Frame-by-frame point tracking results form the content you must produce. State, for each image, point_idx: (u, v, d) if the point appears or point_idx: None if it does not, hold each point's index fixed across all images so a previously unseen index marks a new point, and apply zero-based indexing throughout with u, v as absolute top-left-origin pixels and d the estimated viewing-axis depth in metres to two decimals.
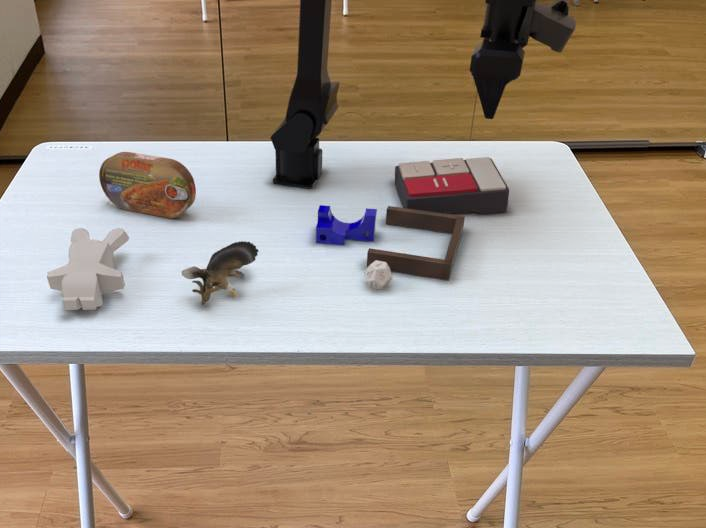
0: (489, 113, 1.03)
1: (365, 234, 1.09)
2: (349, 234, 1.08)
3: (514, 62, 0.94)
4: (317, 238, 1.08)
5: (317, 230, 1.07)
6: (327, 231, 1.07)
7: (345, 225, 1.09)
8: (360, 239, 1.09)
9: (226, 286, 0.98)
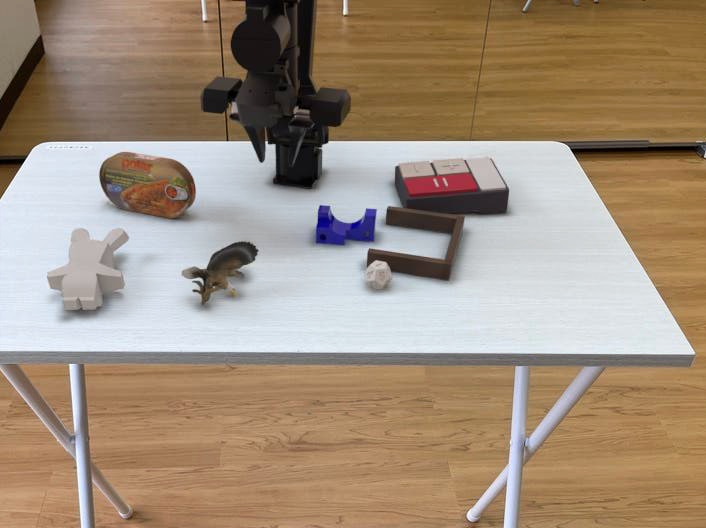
0: None
1: (365, 234, 1.09)
2: (349, 234, 1.08)
3: None
4: (317, 238, 1.08)
5: (317, 230, 1.07)
6: (327, 231, 1.07)
7: (345, 225, 1.09)
8: (360, 239, 1.09)
9: (226, 286, 0.98)
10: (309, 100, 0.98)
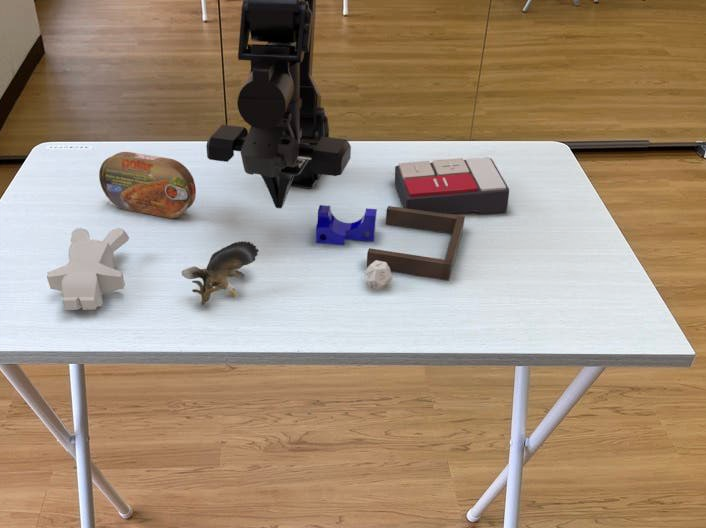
0: None
1: (365, 234, 1.09)
2: (349, 234, 1.08)
3: None
4: (317, 238, 1.08)
5: (317, 230, 1.07)
6: (327, 231, 1.07)
7: (345, 225, 1.09)
8: (360, 239, 1.09)
9: (226, 286, 0.98)
10: (311, 149, 1.02)
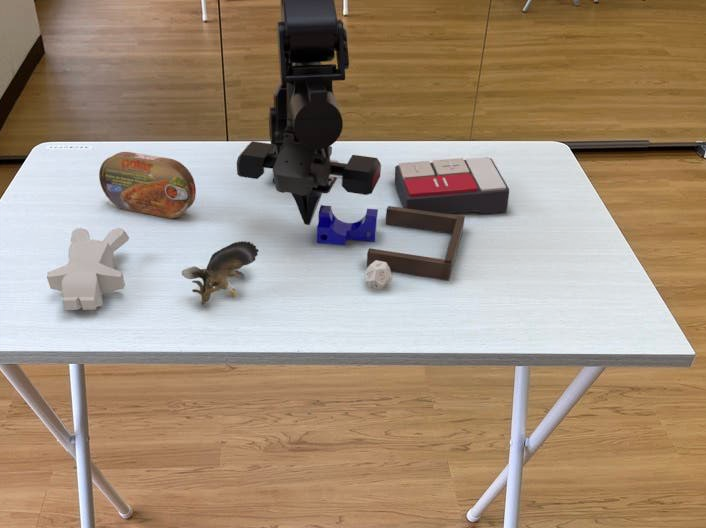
0: None
1: (366, 234, 1.09)
2: (350, 234, 1.08)
3: None
4: (318, 238, 1.08)
5: (318, 230, 1.07)
6: (328, 231, 1.07)
7: (346, 225, 1.09)
8: (361, 239, 1.09)
9: (226, 286, 0.98)
10: (341, 168, 1.02)
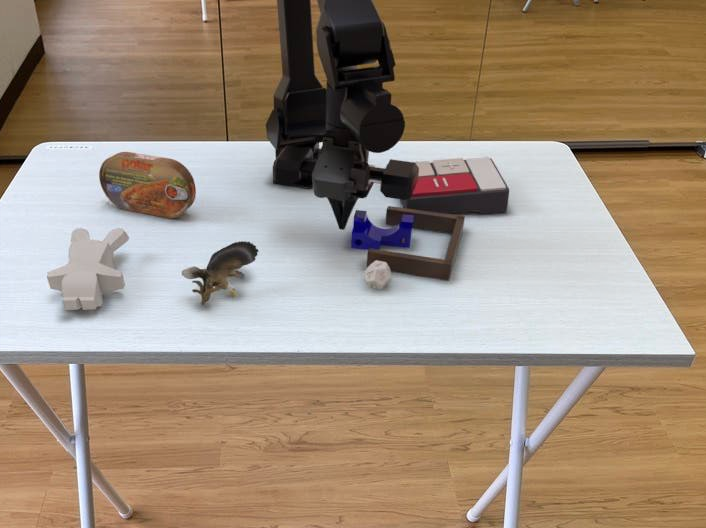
0: None
1: (401, 240, 1.08)
2: (385, 239, 1.07)
3: (273, 165, 1.03)
4: (352, 243, 1.07)
5: (352, 235, 1.06)
6: (363, 236, 1.06)
7: (381, 231, 1.08)
8: (396, 245, 1.07)
9: (226, 286, 0.98)
10: (379, 172, 1.01)
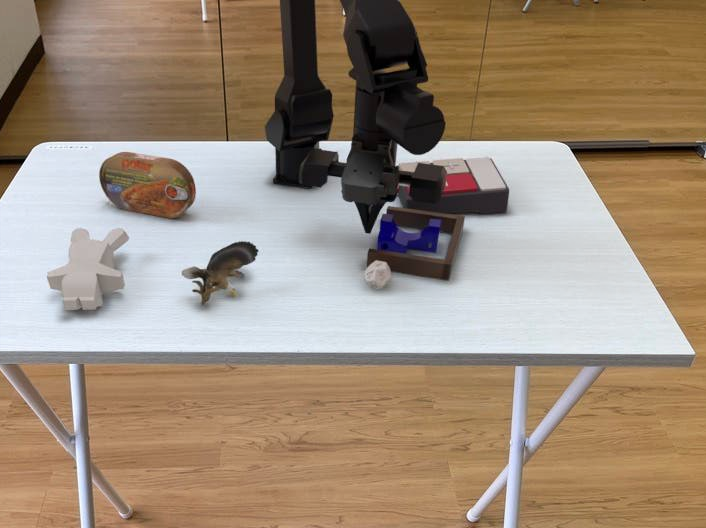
0: None
1: (428, 245, 1.07)
2: (411, 244, 1.06)
3: (300, 169, 1.02)
4: (378, 247, 1.06)
5: (379, 239, 1.05)
6: (389, 240, 1.05)
7: (407, 235, 1.07)
8: (422, 250, 1.06)
9: (226, 286, 0.98)
10: (407, 176, 1.00)
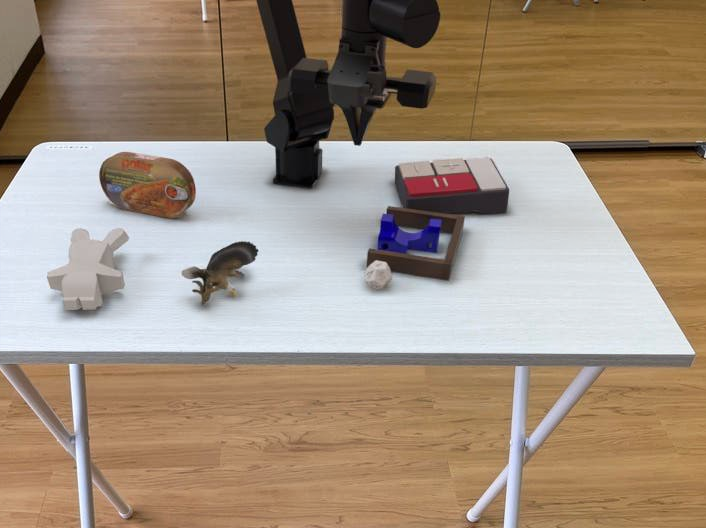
0: None
1: (428, 245, 1.07)
2: (412, 244, 1.06)
3: None
4: (379, 247, 1.06)
5: (379, 239, 1.05)
6: (389, 240, 1.05)
7: (407, 235, 1.07)
8: (423, 250, 1.06)
9: (226, 286, 0.98)
10: (396, 82, 1.00)
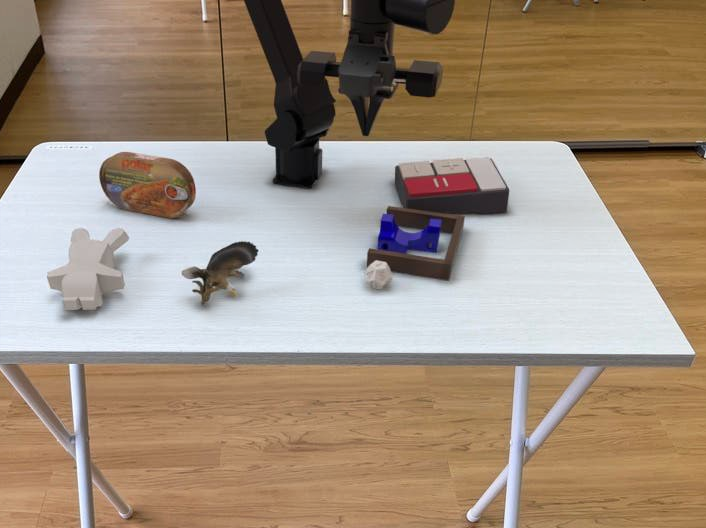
0: None
1: (428, 245, 1.07)
2: (412, 244, 1.06)
3: (298, 68, 1.04)
4: (379, 247, 1.06)
5: (379, 239, 1.05)
6: (389, 240, 1.05)
7: (408, 235, 1.07)
8: (423, 250, 1.06)
9: (226, 286, 0.98)
10: (404, 72, 1.02)
